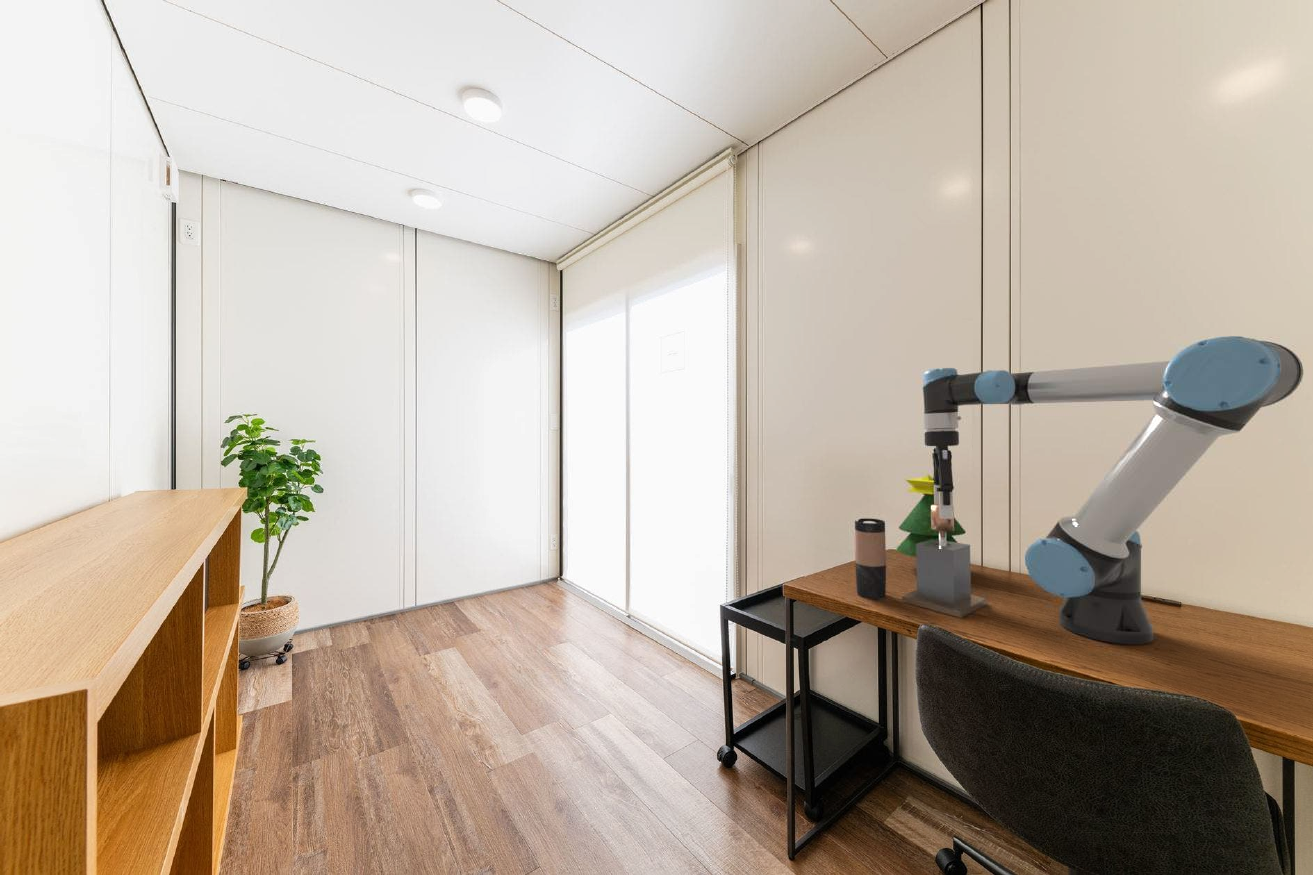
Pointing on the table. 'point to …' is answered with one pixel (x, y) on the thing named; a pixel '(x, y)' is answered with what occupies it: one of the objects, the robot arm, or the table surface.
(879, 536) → the travel mug
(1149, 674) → the table surface
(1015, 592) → the table surface
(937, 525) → the plunger
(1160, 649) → the table surface
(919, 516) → the decorative tree
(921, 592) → the press housing
